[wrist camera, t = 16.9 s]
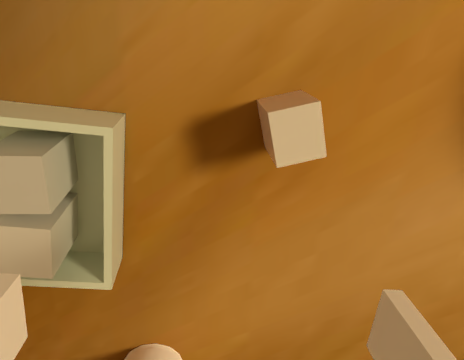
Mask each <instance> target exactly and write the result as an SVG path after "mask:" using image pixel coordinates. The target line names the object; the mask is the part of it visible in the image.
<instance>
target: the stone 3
mask: <svg viewBox="0 0 464 360" xmlns="http://www.w3.org/2000/svg"><path fill="white" fill-rule="evenodd" d="M257 105H258V111H259V117H260V122H261V128H262V133H263V139H264V145H265V148H266V150H267V152H268V153H269V155H270V157H271V158H272V160H273V162H274V164H275V165H276V167H277V168H279V167H283V166H288V165H292V164H297V163H301V162H305V161H310V160H314V159H319V158H323V157H327V155H326V146H325V137H324V128H323V118H322V109H321V101H320V100H318V99H316V98H314V97H313V96H311V95H309V94H307V93H306V92H304V91H302V90H298V91H294V92H289V93H285V94H280V95H276V96H271V97H267V98H262V99H258V100H257Z"/></svg>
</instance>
